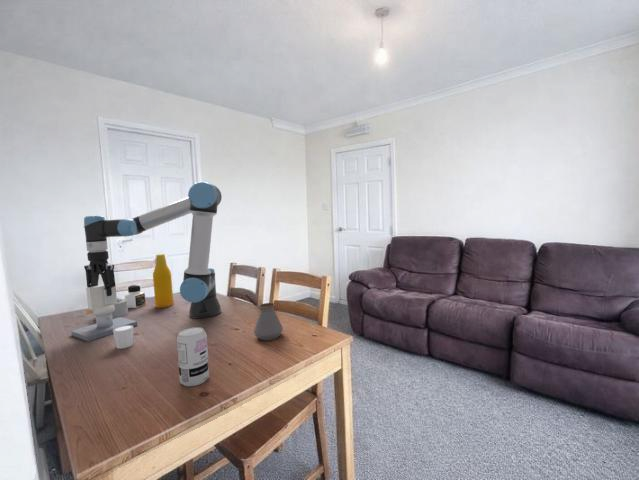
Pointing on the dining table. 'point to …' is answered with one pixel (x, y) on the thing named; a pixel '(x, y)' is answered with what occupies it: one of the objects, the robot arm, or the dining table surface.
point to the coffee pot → (267, 321)
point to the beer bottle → (162, 283)
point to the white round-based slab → (100, 300)
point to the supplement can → (192, 356)
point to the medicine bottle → (135, 297)
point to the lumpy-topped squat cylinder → (120, 308)
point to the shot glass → (123, 336)
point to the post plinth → (101, 331)
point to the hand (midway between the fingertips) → (102, 302)
